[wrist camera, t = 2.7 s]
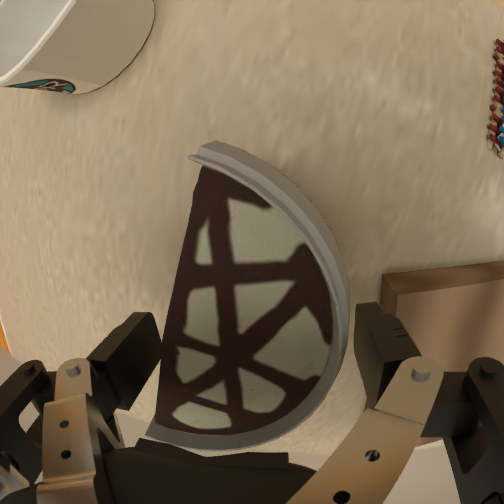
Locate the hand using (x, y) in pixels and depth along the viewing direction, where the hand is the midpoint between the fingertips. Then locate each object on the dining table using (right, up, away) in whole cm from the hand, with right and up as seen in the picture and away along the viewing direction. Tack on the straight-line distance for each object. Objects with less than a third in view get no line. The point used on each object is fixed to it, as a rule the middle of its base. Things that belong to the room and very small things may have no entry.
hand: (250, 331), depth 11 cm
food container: (+1, +2, +7) cm, 7 cm away
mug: (-13, +19, +4) cm, 24 cm away
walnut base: (+16, -6, +7) cm, 18 cm away
